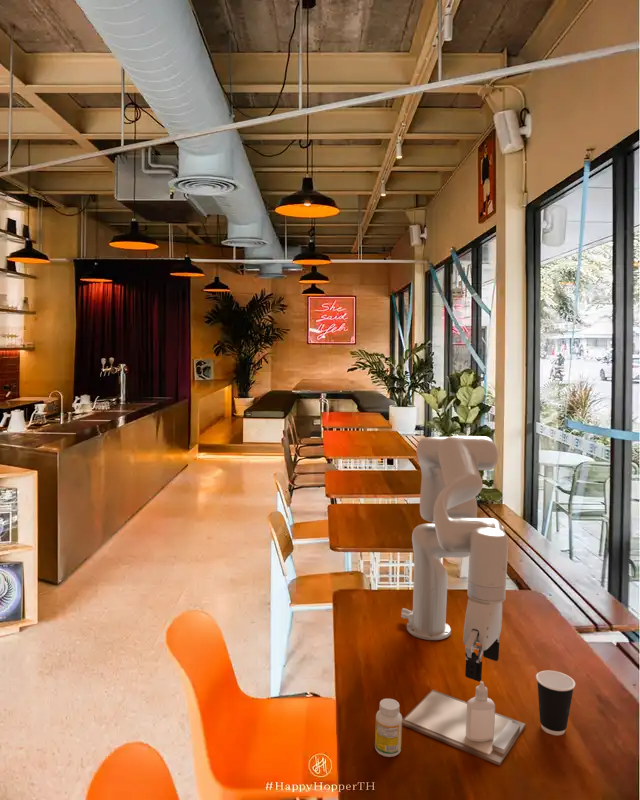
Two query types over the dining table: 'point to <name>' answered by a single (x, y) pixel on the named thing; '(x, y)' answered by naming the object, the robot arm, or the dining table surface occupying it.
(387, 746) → the supplement bottle
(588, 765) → the dining table surface
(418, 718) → the clipboard
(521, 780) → the dining table surface
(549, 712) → the dixie cup
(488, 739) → the eye dropper bottle
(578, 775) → the dining table surface
